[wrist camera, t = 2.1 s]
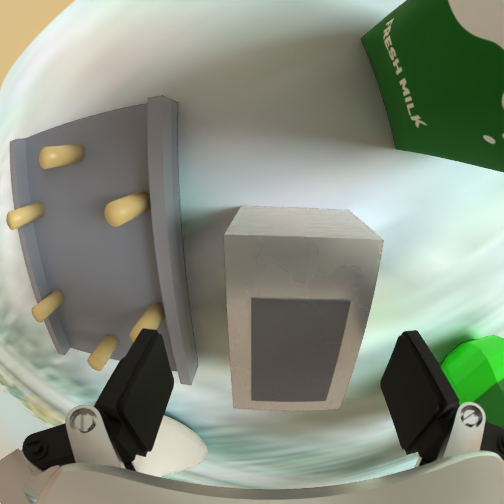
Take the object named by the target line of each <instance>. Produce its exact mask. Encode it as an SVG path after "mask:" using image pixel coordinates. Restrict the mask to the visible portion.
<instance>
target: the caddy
mask: <svg viewBox="0 0 504 504" xmlns="http://www.w3.org/2000/svg"><path fill="white" fill-rule="evenodd" d="M10 168H11V182H12V193H13V201H14V208H15V210H13V211H11V212H8V214H7V224H8V226H9V228H10V229H11V230H14V229H16V228H18V232H19V237H20V242H21V247H22V251H23V255H24V259H25V263H26V267H27V271H28V274H29V278H30V281H31V284H32V288H33V291H34V294H35V297H36V300H37V303H38V304H37V305H36V306H35V307H34V308H32V314H33V316H34V318H35V319H36V320H37V321H38V322H42V321H43V320H44V321H45V324H46V326H47V329H48V331H49V334H50V336H51V338H52V341H53V343H54V345H55V347H56V349H57V352H58V353H59V354H62V355H65V354H66V352H67V351H68V350H69V349H70V348H74V349H77V350H81V351H84V352H88V353H91V355H90V357H89V358H88V363H89V365H90V366H91V367H92V368H93V369H95V370H97V371H100V370H101V369H102V368H103V366H104V365H105V363H106V362H107V361H108V359H109V358H111V359H115V360H121V359H122V358H124V357H125V356H126V354H127V353H128V351H129V349H130V348H131V346H132V344H133V343H134V341H135V339H136V338H137V336H138V334H139V333H140V331H141V330H142V329H143V328H146V329H154V330H157V331H158V333H159V334H162V336H163V340H164V345H165V349H166V353H167V356H168V360H169V364H170V368H171V370H172V371H178V375H179V379H180V383H181V384H186V385H192V382H193V379H194V376H195V373H196V370H197V367H198V361H197V355H196V348H195V342H194V335H193V329H192V322H191V314H190V307H189V299H188V290H187V282H186V272H185V262H184V252H183V240H182V228H181V213H180V196H179V174H178V102H176V101H173V100H171V99H169V98H167V97H165V96H157V97H151V98H148V103H146V104H141V105H136V106H131V107H126V108H121V109H117V110H113V111H108V112H104V113H101V114H97V115H93V116H89V117H86V118H82V119H79V120H76V121H73V122H69V123H66V124H63V125H60V126H57V127H54V128H52V129H49V130H46V131H43V132H41V133H38V134H36V135H33V136H31V137H28V138H24V139H15V140H13V141H11V142H10Z"/></svg>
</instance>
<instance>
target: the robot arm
mask: <svg viewBox="0 0 504 504" xmlns="http://www.w3.org/2000/svg"><path fill="white" fill-rule="evenodd" d="M173 386H174V378H173V375H172V371H171V368H170V364H169V360H168V356H167V353H166V349H165V345H164V340H163V336H162V334H159V333H158V331H157V330H154V329H146V328H143V329H142V330H141V331H140V333H139V334H138V336H137V338H136V339H135V341H134V343H133V344H132V346H131V348H130V349H129V351H128V353H127V354H126V356H125V357H124V358H122V359H121V360H120V362H119V363H118V365H117V367H116V368H115V370H114V372H113V373H112V375H111V377H110V379H109V380H108V382H107V384H106V386H105V388H104V389H103V391H102V393H101V395H100V396H99V398H98V400H97V402H96V404H95V406H94V407H92V406H90V405H79V406H77V407H74V408H73V409H72V410H70V412H69V413H68V414H67V417H66V423H65V424H62V425H59V426H56V427H53V428H50V429H46V430H43V431H40V432H37V433H34V434H31V435H29V436H28V437H27V438H26V439H25V441H24V443H23V449H22V450H19V449H17V450H15V451H13V452H12V453H10V454H9V455H7V456H6V457H5V458H3V459H1V460H0V502H1V504H504V428H502V427H499V426H497V425H494V424H491V423H489V422H486V421H485V419H486V416H485V413H484V411H483V409H482V408H481V407H480V406H479V405H478V404H476V403H473V402H466V403H464V404H462V405H461V406H460V404H459V401H460V400H459V398H458V397H457V395H456V393H455V391H454V389H453V388H452V386H451V384H450V382H449V381H448V379H447V377H446V375H445V374H444V372H443V370H442V369H441V367H440V365H439V364H438V362H437V360H436V359H435V357H434V356H433V354H432V352H431V351H430V349H429V348H428V346H427V345H426V343H425V341H424V340H423V338H422V337H421V335H420V334H419V332H418V331H416V330H414V331H405V332H403V333H402V335H401V336H399V337H398V340H397V342H396V345H395V348H394V350H393V353H392V355H391V358H390V360H389V363H388V365H387V368H386V370H385V372H384V375H383V377H382V379H381V389H382V392H383V395H384V397H385V400H386V403H387V406H388V409H389V411H390V414H391V417H392V420H393V423H394V426H395V429H396V432H397V435H398V438H399V442H400V445H401V447H402V449H405V451H406V454H407V455H408V454H411V453H415V452H418V453H419V458H418V460H417V462H416V465H415V467H414V468H412V469H409V470H405V471H402V472H398V473H395V474H391V475H387V476H383V477H379V478H374V479H369V480H364V481H359V482H354V483H348V484H341V485H334V486H326V487H316V488H303V489H280V490H262V489H238V488H225V487H216V486H207V485H200V484H194V483H188V482H182V481H176V480H171V479H166V478H161V477H157V476H153V475H148V474H144V473H141V472H139V471H138V469H137V467H136V465H135V463H134V460H135V457H136V455H139V456H143V457H146V455H147V452H151V451H152V449H153V446H154V443H155V440H156V437H157V434H158V431H159V428H160V425H161V422H162V419H163V416H164V413H165V410H166V407H167V404H168V401H169V398H170V395H171V392H172V390H173Z"/></svg>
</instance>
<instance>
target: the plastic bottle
mask: <svg viewBox="0 0 504 504" xmlns="http://www.w3.org/2000/svg"><path fill="white" fill-rule="evenodd" d="M440 367H441V369H442V370H443V372H444V374H445V375H446V377H447V379H448V381H449V382H450V384H451V386H452V388H453V389H454V391H455V393H456V395H457V397H458V398H459V400H460V401H459V404H460V406H461V405H462V404H464V403H466V402H473V403H476V404H478V405H479V406H480V407H481V408H482V409H483V411H484V413H485V416H486V419H485V421H486V422H489V423H491V424H494V425H497V426H499V427H502V428H504V338H501V337H498V336H495V335H493V336H486V337H484V338H480V339H477V340H474V339H473V340H470V341H468V342H465V343H462V344H460V345H459V346H458V347H457V348H456V349H454V350H453V351H452V352H451V353H450V354H448V355H447V357H446V358H445V360H444V361H443V363H442V364H441V366H440Z"/></svg>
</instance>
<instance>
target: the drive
mask: <svg viewBox="0 0 504 504" xmlns="http://www.w3.org/2000/svg"><path fill="white" fill-rule="evenodd" d="M383 241H384V240H383V239H382V238H381V237H380V236H379V235H378V234H376V233H375V232H374V231H373V230H372V229H371V228H370V227H368V226H367V225H366V224H365V223H364V222H363V221H361V220H360V219H359V218H358V217H357V216H355V215H354V214H353V213H352V212H351V211H349V210H338V209H319V208H295V207H260V206H241V207H240V209H239V210H238V212H237V214H236V215H235V217H234V219H233V220H232V222H231V224H230V225H229V227H228V229H227V230H226V232H225V234H224V253H225V278H226V300H227V319H228V336H229V352H230V367H231V382H232V395H233V407H234V408H238V409H252V410H278V411H305V410H330V409H339V408H340V406H341V403H342V400H343V398H344V395H345V392H346V389H347V387H348V384H349V381H350V378H351V375H352V372H353V369H354V366H355V363H356V359H357V356H358V353H359V350H360V346H361V343H362V339H363V335H364V332H365V328H366V324H367V320H368V316H369V312H370V308H371V304H372V300H373V295H374V291H375V286H376V281H377V276H378V271H379V265H380V260H381V254H382V248H383Z"/></svg>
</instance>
